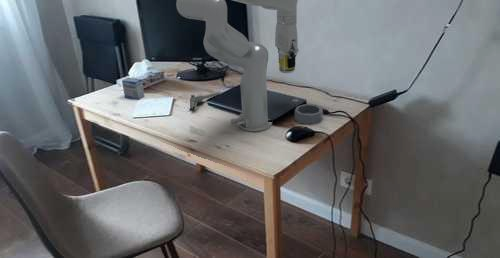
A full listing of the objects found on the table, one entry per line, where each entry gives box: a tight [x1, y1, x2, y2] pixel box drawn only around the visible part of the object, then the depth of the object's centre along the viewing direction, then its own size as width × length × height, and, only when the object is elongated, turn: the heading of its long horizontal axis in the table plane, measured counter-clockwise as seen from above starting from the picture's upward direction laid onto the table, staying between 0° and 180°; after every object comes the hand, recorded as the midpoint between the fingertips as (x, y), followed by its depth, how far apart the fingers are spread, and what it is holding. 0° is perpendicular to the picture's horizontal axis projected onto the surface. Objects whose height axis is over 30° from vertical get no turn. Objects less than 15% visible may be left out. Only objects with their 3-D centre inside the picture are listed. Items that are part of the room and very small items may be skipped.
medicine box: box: [121, 77, 145, 101], centre depth 190 cm, size 8×4×9 cm, turn 68°
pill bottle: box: [278, 48, 296, 74], centre depth 167 cm, size 6×6×11 cm
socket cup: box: [294, 103, 324, 125], centre depth 162 cm, size 10×10×4 cm
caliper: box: [189, 91, 222, 110], centre depth 183 cm, size 20×1×6 cm, turn 145°
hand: (286, 64), depth 168 cm, fingers closed on pill bottle, 6 cm apart
